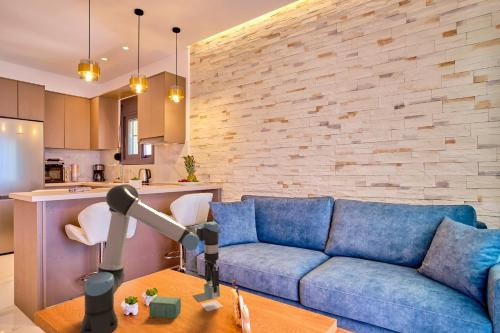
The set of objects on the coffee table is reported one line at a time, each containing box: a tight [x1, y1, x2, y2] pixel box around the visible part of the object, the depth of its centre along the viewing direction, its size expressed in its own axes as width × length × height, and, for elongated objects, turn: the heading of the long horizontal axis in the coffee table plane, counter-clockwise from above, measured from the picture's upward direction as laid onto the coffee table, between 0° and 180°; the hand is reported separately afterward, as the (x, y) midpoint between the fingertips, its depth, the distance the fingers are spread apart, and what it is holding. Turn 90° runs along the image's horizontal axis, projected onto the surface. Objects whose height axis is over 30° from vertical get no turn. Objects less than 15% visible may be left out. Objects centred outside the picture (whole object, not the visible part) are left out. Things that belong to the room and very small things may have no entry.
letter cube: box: [203, 282, 221, 301], centre depth 153 cm, size 6×6×6 cm
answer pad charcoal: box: [192, 292, 209, 303], centre depth 163 cm, size 9×9×1 cm
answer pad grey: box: [199, 299, 224, 312], centre depth 153 cm, size 9×9×1 cm
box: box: [148, 295, 182, 319], centre depth 144 cm, size 7×14×8 cm, turn 83°
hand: (211, 295), depth 153 cm, fingers closed on letter cube, 6 cm apart
